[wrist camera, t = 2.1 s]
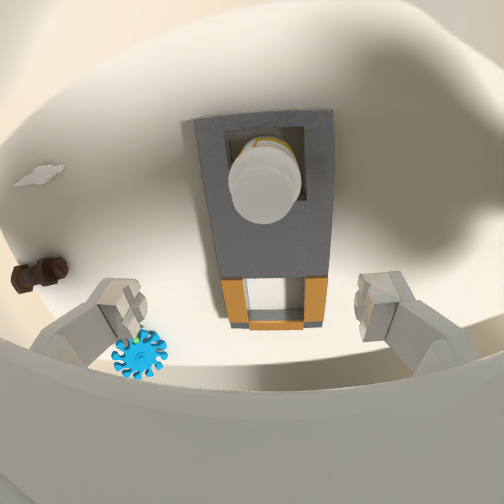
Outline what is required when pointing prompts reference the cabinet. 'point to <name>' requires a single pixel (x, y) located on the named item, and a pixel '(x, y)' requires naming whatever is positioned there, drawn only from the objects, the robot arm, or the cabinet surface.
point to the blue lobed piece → (139, 355)
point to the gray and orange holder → (277, 233)
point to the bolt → (38, 274)
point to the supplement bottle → (264, 179)
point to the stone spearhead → (40, 175)
